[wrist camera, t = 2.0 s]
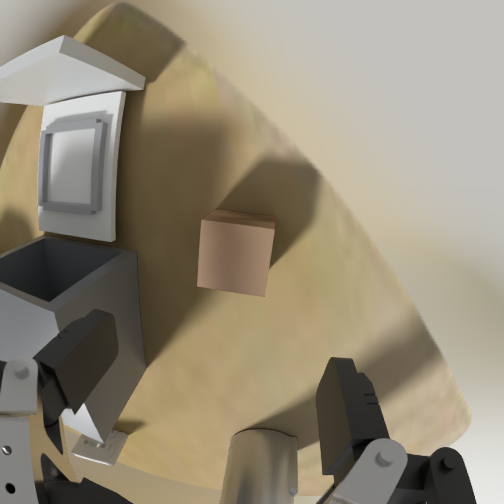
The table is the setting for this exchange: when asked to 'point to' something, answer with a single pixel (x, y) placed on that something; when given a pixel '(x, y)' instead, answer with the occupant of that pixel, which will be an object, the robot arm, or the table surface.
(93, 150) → the grey flat-panelled piece
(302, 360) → the table surface
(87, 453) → the cassette
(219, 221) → the block
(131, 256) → the grey open box
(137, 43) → the table surface
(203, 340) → the table surface
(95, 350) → the robot arm
